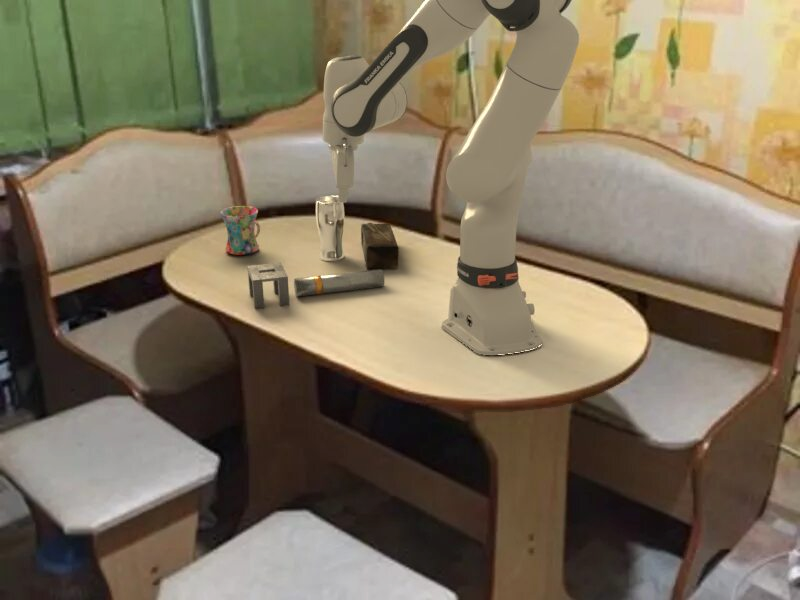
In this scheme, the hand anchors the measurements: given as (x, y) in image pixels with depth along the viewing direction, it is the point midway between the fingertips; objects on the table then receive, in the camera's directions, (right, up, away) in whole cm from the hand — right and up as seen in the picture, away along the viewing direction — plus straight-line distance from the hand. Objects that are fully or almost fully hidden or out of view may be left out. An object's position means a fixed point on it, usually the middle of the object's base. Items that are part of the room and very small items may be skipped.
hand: (341, 194), depth 195 cm
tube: (-1, -21, +5) cm, 22 cm away
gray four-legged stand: (-16, -23, +1) cm, 28 cm away
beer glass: (-4, -13, +26) cm, 29 cm away
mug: (-26, -11, +29) cm, 41 cm away
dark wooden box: (+8, -13, +26) cm, 30 cm away
